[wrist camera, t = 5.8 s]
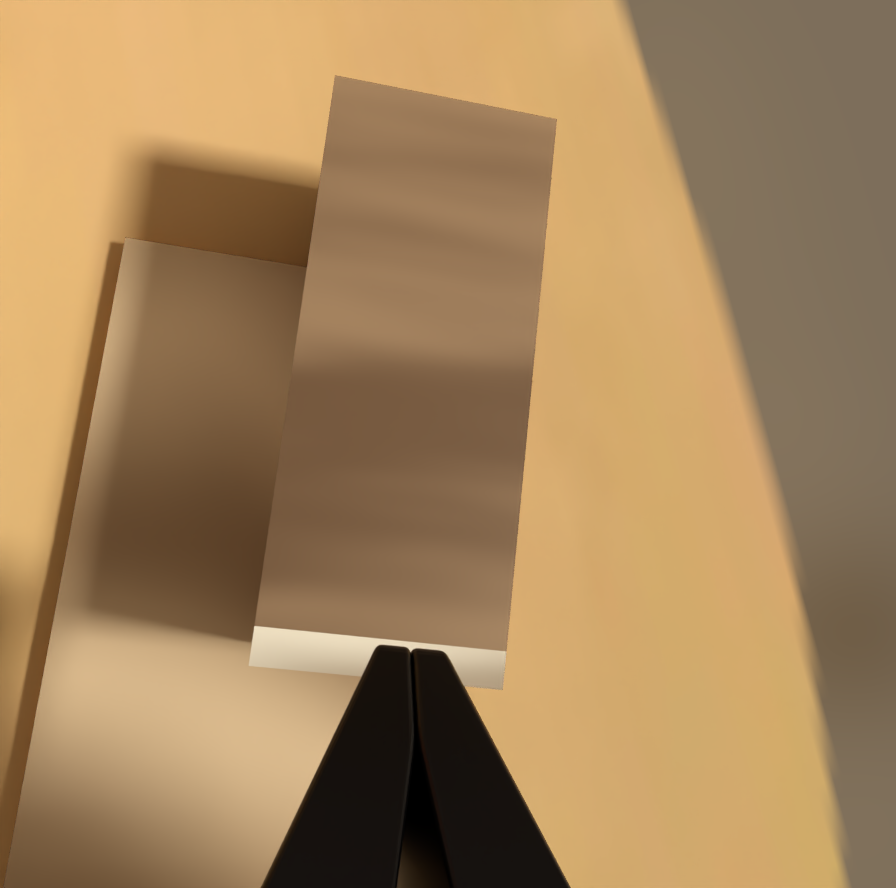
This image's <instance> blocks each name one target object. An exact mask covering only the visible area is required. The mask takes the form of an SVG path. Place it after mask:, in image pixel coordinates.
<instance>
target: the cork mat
mask: <svg viewBox="0 0 896 888" xmlns="http://www.w3.org/2000/svg"><path fill="white" fill-rule="evenodd" d="M306 271H307V267H303V266H297V265H291V264H285V263H279V262H273V261H266V260H260V259H254V258H248V257H242V256H236V255H230V254H224V253H218V252H212V251H205V250H199V249H193V248H187V247H181V246H175V245H169V244H163V243H157V242H151V241H145V240H138V239H132V238H126V237H125V242H124V247H123V252H122V258H121V263H120V268H119V274H118V279H117V284H116V290H115V295H114V300H113V306H112V311H111V316H110V322H109V327H108V332H107V338H106V343H105V348H104V354H103V359H102V364H101V369H100V375H99V380H98V385H97V391H96V396H95V401H94V407H93V412H92V417H91V423H90V428H89V433H88V439H87V444H86V449H85V455H84V460H83V465H82V471H81V476H80V481H79V487H78V492H77V497H76V503H75V508H74V513H73V519H72V524H71V529H70V534H69V540H68V545H67V550H66V556H65V561H64V566H63V572H62V577H61V582H60V588H59V593H58V598H57V604H56V609H55V614H54V620H53V625H52V630H51V636H50V641H49V646H48V652H47V657H46V662H45V668H44V673H43V678H42V684H41V689H40V694H39V699H38V705H37V710H36V715H35V721H34V726H33V731H32V737H31V742H30V747H29V753H28V758H27V763H26V769H25V774H24V779H23V785H22V790H21V795H20V801H19V806H18V811H17V817H16V822H15V827H14V833H13V838H12V843H11V848H10V854H9V859H8V864H7V870H6V875H5V880H4V886H3V888H261V886H262V884H263V881H264V879H265V877H266V875H267V873H268V871H269V869H270V867H271V865H272V863H273V861H274V858H275V856H276V854H277V852H278V850H279V848H280V846H281V844H282V842H283V840H284V838H285V835H286V833H287V831H288V829H289V827H290V825H291V823H292V821H293V819H294V817H295V815H296V812H297V810H298V808H299V806H300V804H301V802H302V800H303V798H304V796H305V794H306V792H307V789H308V787H309V785H310V783H311V781H312V779H313V777H314V775H315V773H316V771H317V768H318V766H319V764H320V762H321V760H322V758H323V756H324V754H325V752H326V750H327V748H328V745H329V743H330V741H331V739H332V737H333V735H334V733H335V731H336V729H337V727H338V725H339V722H340V720H341V718H342V716H343V714H344V712H345V710H346V708H347V706H348V704H349V702H350V699H351V697H352V695H353V693H354V691H355V689H356V687H357V685H358V683H359V681H360V679H361V676H350V675H340V674H329V673H319V672H308V671H297V670H287V669H276V668H266V667H255V666H249V659H250V653H251V646H252V639H253V632H254V625H255V618H256V612H257V605H258V598H259V591H260V584H261V577H262V571H263V564H264V557H265V550H266V543H267V537H268V530H269V523H270V516H271V509H272V502H273V496H274V489H275V482H276V475H277V468H278V462H279V455H280V448H281V441H282V434H283V427H284V421H285V414H286V407H287V400H288V393H289V387H290V380H291V373H292V366H293V359H294V352H295V346H296V339H297V332H298V325H299V318H300V311H301V305H302V298H303V291H304V284H305V277H306Z"/></svg>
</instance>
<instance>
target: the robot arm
mask: <svg viewBox="0 0 896 888" xmlns="http://www.w3.org/2000/svg"><path fill="white" fill-rule="evenodd" d="M261 888H570V886H569V884H568V882H567V880H566V878H565V876H564V874H563V872H562V871H561V869H560V867H559V865H558V863H557V861H556V859H555V857H554V855H553V853H552V852H551V850H550V848H549V846H548V844H547V842H546V840H545V838H544V836H543V835H542V833H541V831H540V829H539V827H538V825H537V823H536V821H535V819H534V818H533V816H532V814H531V812H530V810H529V808H528V806H527V804H526V802H525V800H524V799H523V797H522V795H521V793H520V791H519V789H518V787H517V785H516V783H515V782H514V780H513V778H512V776H511V774H510V772H509V770H508V768H507V766H506V765H505V763H504V761H503V759H502V757H501V755H500V753H499V751H498V749H497V748H496V746H495V744H494V742H493V740H492V738H491V736H490V734H489V732H488V730H487V729H486V727H485V725H484V723H483V721H482V719H481V717H480V715H479V713H478V712H477V710H476V708H475V706H474V704H473V702H472V700H471V698H470V696H469V695H468V693H467V691H466V689H465V687H464V685H463V683H462V681H461V679H460V678H459V676H458V674H457V672H456V670H455V668H454V666H453V664H452V662H451V660H450V659H449V657H448V655H447V654H446V653H445V652H443V651H440V650H432V649H422V648H415V649H413V650H412V651H411V652H410V650H409V649H408V648H407V647H402V646H392V645H378V646H377V647H376V648H375V649H374V651H373V653H372V655H371V658H370V660H369V662H368V664H367V666H366V668H365V670H364V672H363V674H362V676H361V679H360V681H359V683H358V685H357V687H356V689H355V691H354V693H353V695H352V697H351V699H350V702H349V704H348V706H347V708H346V710H345V712H344V714H343V716H342V718H341V720H340V722H339V725H338V727H337V729H336V731H335V733H334V735H333V737H332V739H331V741H330V743H329V745H328V748H327V750H326V752H325V754H324V756H323V758H322V760H321V762H320V764H319V766H318V768H317V771H316V773H315V775H314V777H313V779H312V781H311V783H310V785H309V787H308V789H307V792H306V794H305V796H304V798H303V800H302V802H301V804H300V806H299V808H298V810H297V812H296V815H295V817H294V819H293V821H292V823H291V825H290V827H289V829H288V831H287V833H286V835H285V838H284V840H283V842H282V844H281V846H280V848H279V850H278V852H277V854H276V856H275V858H274V861H273V863H272V865H271V867H270V869H269V871H268V873H267V875H266V877H265V879H264V881H263V884H262V886H261Z"/></svg>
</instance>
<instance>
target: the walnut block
mask: <svg viewBox="0 0 896 888" xmlns="http://www.w3.org/2000/svg"><path fill="white" fill-rule="evenodd" d="M556 122H557V119H553V118H548V117H543V116H538V115H533V114H528V113H523V112H518V111H513V110H508V109H503V108H498V107H493V106H488V105H483V104H478V103H473V102H468V101H462V100H457V99H452V98H447V97H442V96H437V95H432V94H427V93H422V92H417V91H412V90H407V89H402V88H397V87H392V86H387V85H382V84H377V83H372V82H366V81H361V80H356V79H351V78H346V77H341V76H336V75H335V80H334V86H333V93H332V100H331V107H330V114H329V120H328V127H327V134H326V141H325V148H324V155H323V161H322V168H321V175H320V182H319V189H318V196H317V202H316V209H315V216H314V223H313V230H312V236H311V243H310V250H309V257H308V264H307V271H306V277H305V284H304V291H303V298H302V305H301V311H300V318H299V325H298V332H297V339H296V346H295V352H294V359H293V366H292V373H291V380H290V387H289V393H288V400H287V407H286V414H285V421H284V427H283V434H282V441H281V448H280V455H279V462H278V468H277V475H276V482H275V489H274V496H273V502H272V509H271V516H270V523H269V530H268V537H267V543H266V550H265V557H264V564H263V571H262V577H261V584H260V591H259V598H258V605H257V612H256V618H255V625H254V632H253V639H252V646H251V653H250V659H249V666H255V667H266V668H276V669H287V670H297V671H308V672H319V673H329V674H340V675H350V676H362V674H363V672H364V670H365V668H366V666H367V664H368V662H369V660H370V658H371V655H372V653H373V651H374V649H375V648H376V647H377V646H378V645H392V646H402V647H407V648H408V649H409V650H410V652H411V651H412V650H413V649H415V648H422V649H432V650H440V651H443V652H445V653H446V654H447V655H448V657H449V659H450V660H451V662H452V664H453V666H454V668H455V670H456V672H457V674H458V676H459V678H460V679H461V681H462V683H463V685H464V686H467V687H477V688H488V689H499V690H503V682H504V671H505V661H506V650H507V640H508V629H509V619H510V608H511V597H512V587H513V576H514V566H515V555H516V545H517V534H518V523H519V513H520V502H521V492H522V481H523V471H524V460H525V450H526V439H527V428H528V418H529V407H530V397H531V386H532V376H533V365H534V354H535V344H536V333H537V323H538V312H539V302H540V291H541V280H542V270H543V259H544V249H545V238H546V228H547V217H548V206H549V196H550V185H551V175H552V164H553V154H554V143H555V132H556Z"/></svg>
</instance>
